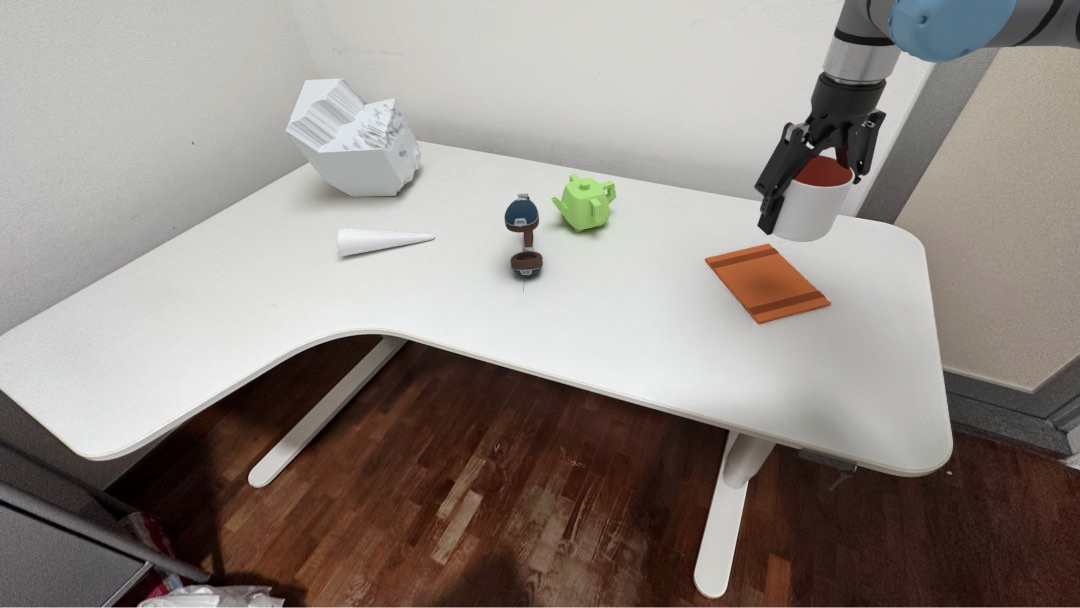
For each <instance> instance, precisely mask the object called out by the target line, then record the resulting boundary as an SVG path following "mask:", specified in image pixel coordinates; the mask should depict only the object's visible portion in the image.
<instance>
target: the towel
mask: <svg viewBox="0 0 1080 608" xmlns="http://www.w3.org/2000/svg"><path fill="white" fill-rule="evenodd" d="M704 261H705V263H706V264H707V266H708V267H710V268H711V270H712V271H713V272H714V273H715V274H716V276H717V277H718V278H719V279H720V280H721V281H722V284H724V285H725V286H726V288H727V289H728V290H729V291H730V292H731V293H732V295H733V296H734V297H735V298H736V299H737V301H738V302H739V303H740V304H741V305H742V307H743V308H744V309H745V310H746V312H748V313H749V315H750V316H751V317H752V319H754V321H755V322H756V323H757V324H758V325H761V324H764V323H769V322H772V321H776V320H781V319H783V318H787V317H791V316H795V315H798V314H802V313H806V312H810V311H814V310H818V309H822V308H826V307H829V306H831V304H832V302H831V301H830V300H829V299H828V298H827V297H826V296H825V295H824V293H822V292H821V291H820V290H819V289H817V288H816V287H815V286H814V284H812V283H811V282H810V281H809V280H808V279H807V278H805V276H803V274H801V273H800V271H798V270H797V269H796V268H795V267H794V266H793V265H792V264H791V262H789V261H788V260H787V259H786V258H785V257H784V256H783V255H782V254H781V253H780V252H779V251H778V250H777V249H776V248H775V247H773V246H772V244H770V243H769V242H768V243H764V244H760V245H756V246H752V247H747V248H743V249H738V250H735V251H730V252H726V253H722V254H717V255H713V256H708V257H705V258H704Z"/></svg>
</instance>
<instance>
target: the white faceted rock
mask: <svg viewBox="0 0 1080 608" xmlns="http://www.w3.org/2000/svg"><path fill="white" fill-rule="evenodd" d="M303 83H304V84H303V86H302V89H301V91H300V94H299V96H298V99H297V100H296V104H295V106H294V109H293V111H292V113H291V115H290V119H289V121H288V124H287V126H286V128H285V134H286V135H287V136H288V137H289V138H290V140H291V141H292V143H294V145H295V146H296V148H297V149H298V150H299V151H300V152H301V153H302V155H303V157H305V159H306V160H307V161H308V163H309V164H310V165H311V166H312V168H314V170H315V171H316V173H317V174H318V175H319V176H320V177H321V179H322V180H323V182H325V183H327V184H329V185H331V186H332V187H334V188H336V189H337V190H339V191H341V192H343V193H344V194H346V195H347V196H350V197H352V198H362V197H363V198H366V197H395V196H397V195H398V194H397V193H400V192H401V189H402V188H403V187H404V186H405V185H406V184H408V183H409V182H411V181H413V179H414V175H415V171H419V167H420V162H421V157H422V153H421V151H420V145H419V143H418V141H417V139H416V137H415V135H414V133H413V131H412V129H411V127H410V125H409V123H408V121H407V119H406V117H405V115H404V113H403V111H402V109H401V107H400V105H399V102H398V101H397V99H396V98H395V97H394V98H388V99H384V100H380V101H375V102H370V103H369V102H368V101H367V100H366V99H364V98H363V97H362V96H361V95H360V94H359V93H358V92H357V91H356V90H355V89H354V88H353V87H352V85H351V83H349V82H348V80H347V79H346V77H343V78H341V77H340V78H322V79H321V78H320V79H306V80H304V82H303Z"/></svg>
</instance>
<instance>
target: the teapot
mask: <svg viewBox="0 0 1080 608" xmlns="http://www.w3.org/2000/svg"><path fill="white" fill-rule="evenodd" d="M616 191H617V190H616V185H615V182H613V181H612V180H608V181H603V182H601V183H600V182H599V181H597V180H596V179H594V178H593V177H583V178H580V177H579V176H578V173H573V174H570V175H569V182H566V184H565V186H564V188H563V191H562V194H561V200H560V198H558V197H557V196H553V197H551V198H550V200H551V201H552V203H553V205H554V206H555V207H556V209H558V211H559V212H560V214H561V215H562V216H563V217H564V219H565V220H566V222H567V223H568V224H569V225H570V226H571V227H573V228H574V231H575V232H577V233H581V232H583V231H584V230H587V229H591V228H595V227H602V226H604V224H606V223H607V222H608V220H609V218H610V204H611V203H612V202H613V201H614V200H616V198H617V192H616Z"/></svg>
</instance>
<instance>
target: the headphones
mask: <svg viewBox="0 0 1080 608" xmlns="http://www.w3.org/2000/svg"><path fill="white" fill-rule="evenodd" d="M503 216H504V224H505V227H506V229H507V230H508V231H510V232H512V233H519V234H521V233H523V234H522V235H523V244H524V245H523V248H522V251H520V252H517V253H515V254H514V255H512V256H511V257H510V267H511V269H512V270H513V272H514V273H515V274H517V275H518V276H520V277H523V278H530V277H533V276H535V275H537V273H539V272H540V270H541V269H542V268H543V265H544V261H543V259H544V258H543V255H542V254H541V253H540V252H537V251H535V250H534V247H533V246H534V230H536V229H537V228H538V226H539V225H540V215H539V209H538V208H537V206H536V204H535V203H534V202H533V201H532V200H531V199H530V196H529V193H528V192H527V193H526V192H525V193H518V194H517V198H516V199H515V200H513V201H512V202H510V204H509V205H508V206H507V208H506V210H505V213H504V215H503ZM525 283H526V280H524V282H523V284H525ZM522 287H523V288H522V289H523V290H522V293H523V294H524V293H525V292H524V290H525V285H523V286H522Z"/></svg>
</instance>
